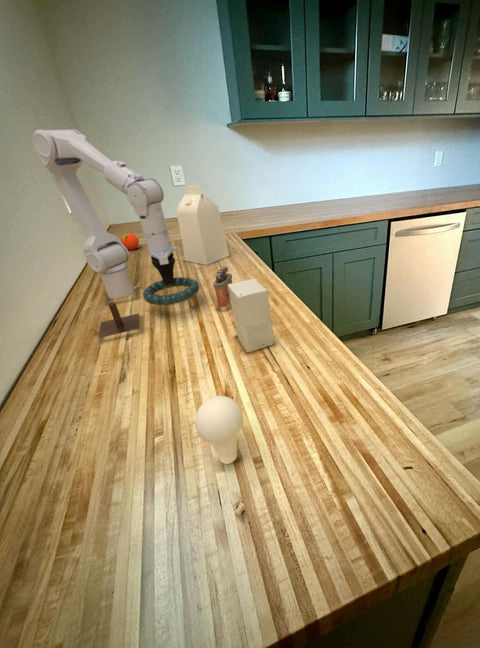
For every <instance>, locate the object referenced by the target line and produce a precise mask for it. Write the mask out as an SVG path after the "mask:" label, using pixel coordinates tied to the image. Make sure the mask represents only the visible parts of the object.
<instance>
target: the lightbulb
mask: <svg viewBox="0 0 480 648" xmlns="http://www.w3.org/2000/svg"><path fill="white" fill-rule="evenodd" d="M243 422H244V414H243V410H242V408H241V406H240V404H239V403H238V402H237V401H235V399H233V398H231V397H229V396H226V395H214V396H212V397H209V398H208V399H206V400H204V401H203V403H201V405H199V407H198V409H197V410H196V413H195V417H194V426H195V427H194V428H195V430H196V433H197V434H198V435H199V437H200V438H201V439H202V440H203V441H205V442H206V443H208V444H210V445H211V446H212V448H213V450H214V453H216V454H217V456H218V458H219V461H220V463H222V464H223V465H224V464H225V465H228V464H231V463H233V462H235V460H236V459H237V457H238V449H237V447H238V435H240V434H239V433H240V431H241V429H242V427H243V424H244V423H243Z"/></svg>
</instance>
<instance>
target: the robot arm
mask: <svg viewBox="0 0 480 648" xmlns="http://www.w3.org/2000/svg"><path fill="white" fill-rule="evenodd" d="M32 137H33V138H32V148H33V149H34V151H35V153H36V154H37V156H38V158H39V159H40V162H41V163H42V165H43V166H44V169H45V170H46V171H47V172H48V173H49V174H50V177H51V178H52V180H53V181H54V183H55V184H56V187H57V188H58V189H59V192H60V193H61V195H62V197H63V199H64V200H65V203H66V204H67V206H68V207H69V209H70V211H71V213H72V214H73V217H74V218H75V220H76V222H77V223H78V226H79V227H80V229H81V231H82V232H83V234H84V236H85V237H86V241H85V243H84V245H83V246H82V251H83V253H84V255H85V259H86V262H87V263H86V264H87V265H88V266H89V268H90V269H91V270H93V271H94V272H95V273H96V274H99V275H100V279H101V280H102V284H103V287H104V289H105V292H106V294H107V297H108V299H110V300H111V299H112V300H117V299H118V300H119V299H123V298H126V297H129V296H131V295H132V294H134V293H135V289H137V286H133V283H132V279H131V277H130V273H129V271H128V268H127V266H129V264H128V262H129V260H130V253H129V249H126V247H125V246H124V245H123V244H122V243H121V239H120V238H119V237H118V236H117V235H114V234H112V233H109V232H108V230H107V229H106V227H105V226H104V224H103V222H102V220H101V218H100V216H99V214H98V212H97V211H96V209H95V207H94V205H93V203H92V202H91V199H90V198H89V196H88V194H87V193H86V190H85V189H84V187H83V185H82V183H81V180H80V179H79V177H78V176H77V170H78V169H79V168H80V167H81V166H82V163H83V162H84V163H85V164H87V165H89V166H90V167H92V168H94V169H96V170H97V171H99V172H100V173H102V174H103V177H104V179H105V181H106V182H107V183H108V184H109V185H111V186H112V187H114V188H115V189H117V190H118V191H119V192H121V193H123V194H124V195H125V196H126V198H127V201H128V202H129V204H130V205H131V206H132V207H133V210H134V213H135V214H136V216H137V217H138V219H139V223H140V226H141V230H142V233H143V236H144V239H145V244H146V247H147V253H148V255H149V256H150V259H151V264H152V266H153V267H154V268H155V269H156V270H157V272H158V273H159V276H160V277H161V279H162V280H163V281H164V283H165V284H166V285H170V284H174V278H175V276H174V275H175V274H174V268H175V262H176V258H175V257H174V251H177V250H178V247H177V246H176V245H172V243H171V239H170V235H169V230H168V227H167V223H166V219H165V215H164V211H163V207H162V202H163V201H164V198H165V194H164V189H163V187H162V185H161V184H160V182H158V181H157V180H156V179H154V178H147V177H143V175H141V173H138V172H136V171H134V170H133V169H131V168H130V167H129V166H128V165H127V163H126V162H124V161H123V160H120V161H119V160H111V159H110V158H108V157H107V156H106V155H105V154H103V153H102V152H100V151H99V149H97V147H95V146H93V145H92V144H91V143H90V142H89V141H88V139H87V137H86V135H84V134H83V133H81V132H80V131H79V130H77V129H74V128H70V129H36V130H35V131H34V132H33V136H32ZM104 245H105V246H104ZM101 246H102V247H101Z"/></svg>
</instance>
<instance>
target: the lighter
mask: <svg viewBox="0 0 480 648" xmlns="http://www.w3.org/2000/svg"><path fill="white" fill-rule="evenodd" d="M228 272H229V268H228V266H227V265H226V266H223V267H222V268H220V269H217V270H216V273H215V274H214V277H215V279H214V281H213V283H212V284H213V287H214V290H215V295H216V301H217V306H218V307H219V308H220V307H221V308H225V307H226V306H228V305H229V304H231V301H230V296H229V290H228V284H231V283H233V279H232V278H233V275H232V273H228Z"/></svg>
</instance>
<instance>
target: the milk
mask: <svg viewBox="0 0 480 648" xmlns="http://www.w3.org/2000/svg"><path fill="white" fill-rule="evenodd" d="M184 188H185V189H184V196H183V197H182V199H181V200H180V202H179V203H178V206H177V207H176V217H177V222H178V223H177V224H178V228H179V233H180V239H181V245H182V250H183V255H184V261H185V262H190V263H194V264H195V263H196V264H200V265H201V264H202V265H206V266H209V265H211V264H213V263H216V262H217V261H218V262H219V261H220V260H222V259H225V258H227V257H229V256H230V253H229V247H228V245H227V240H226V235H225V232H224V226H223V222H222V217H221V213H220V210H219V206H218V205H217V204H216V203H215V202H214V201H213V200H211V198H209V197H208V196H207V195H206V194H205V193H204V191H203V190H202V187H201V185H185V187H184Z"/></svg>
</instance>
